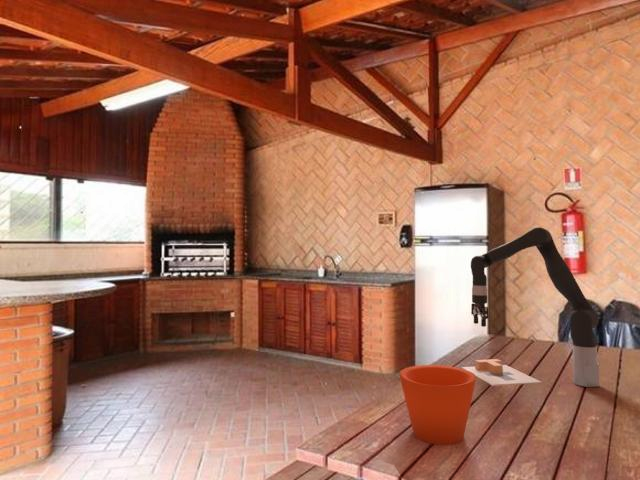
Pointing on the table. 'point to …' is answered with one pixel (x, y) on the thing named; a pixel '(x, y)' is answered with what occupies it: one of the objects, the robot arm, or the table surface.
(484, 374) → the board
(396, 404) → the table surface
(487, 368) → the t block
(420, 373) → the flowerpot
